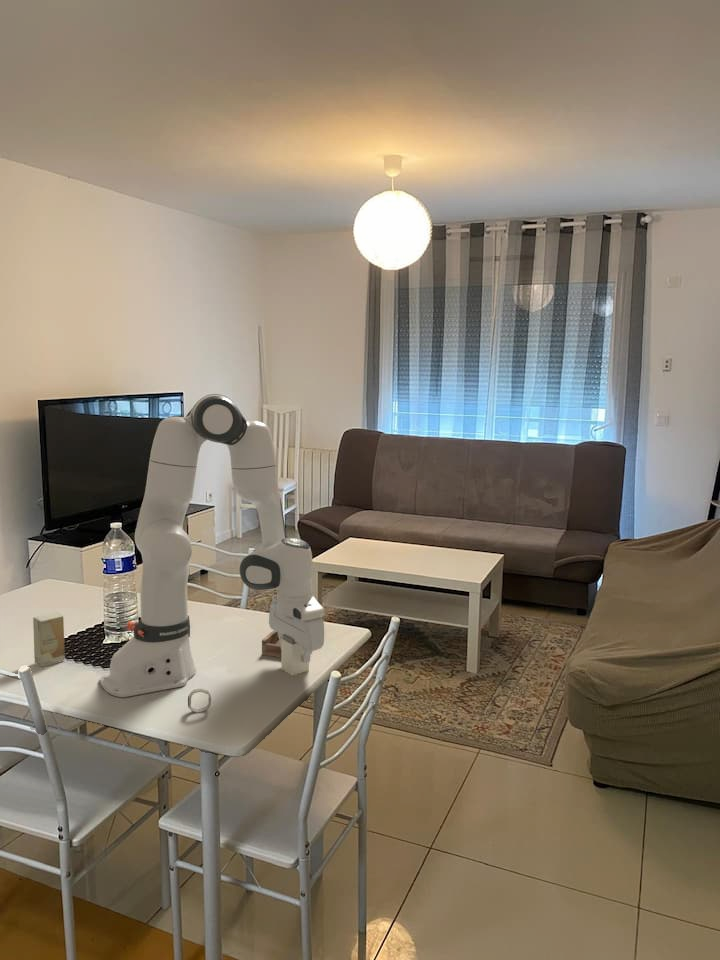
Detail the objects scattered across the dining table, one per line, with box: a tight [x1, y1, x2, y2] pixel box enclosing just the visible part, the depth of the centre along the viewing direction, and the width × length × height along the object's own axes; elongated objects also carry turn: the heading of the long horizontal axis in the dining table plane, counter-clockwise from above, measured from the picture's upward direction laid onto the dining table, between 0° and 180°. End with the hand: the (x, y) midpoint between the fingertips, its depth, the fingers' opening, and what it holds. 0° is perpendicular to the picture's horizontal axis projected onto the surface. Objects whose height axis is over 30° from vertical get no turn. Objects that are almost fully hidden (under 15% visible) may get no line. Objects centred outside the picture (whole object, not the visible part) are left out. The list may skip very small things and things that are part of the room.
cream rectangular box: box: [280, 634, 310, 676], centre depth 181 cm, size 5×5×9 cm
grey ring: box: [187, 688, 212, 714], centre depth 159 cm, size 3×5×5 cm, turn 108°
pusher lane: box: [261, 616, 324, 658], centre depth 199 cm, size 23×9×6 cm, turn 163°
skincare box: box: [32, 611, 66, 668], centre depth 183 cm, size 6×4×12 cm
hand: (295, 655), depth 181 cm, fingers open, 8 cm apart
